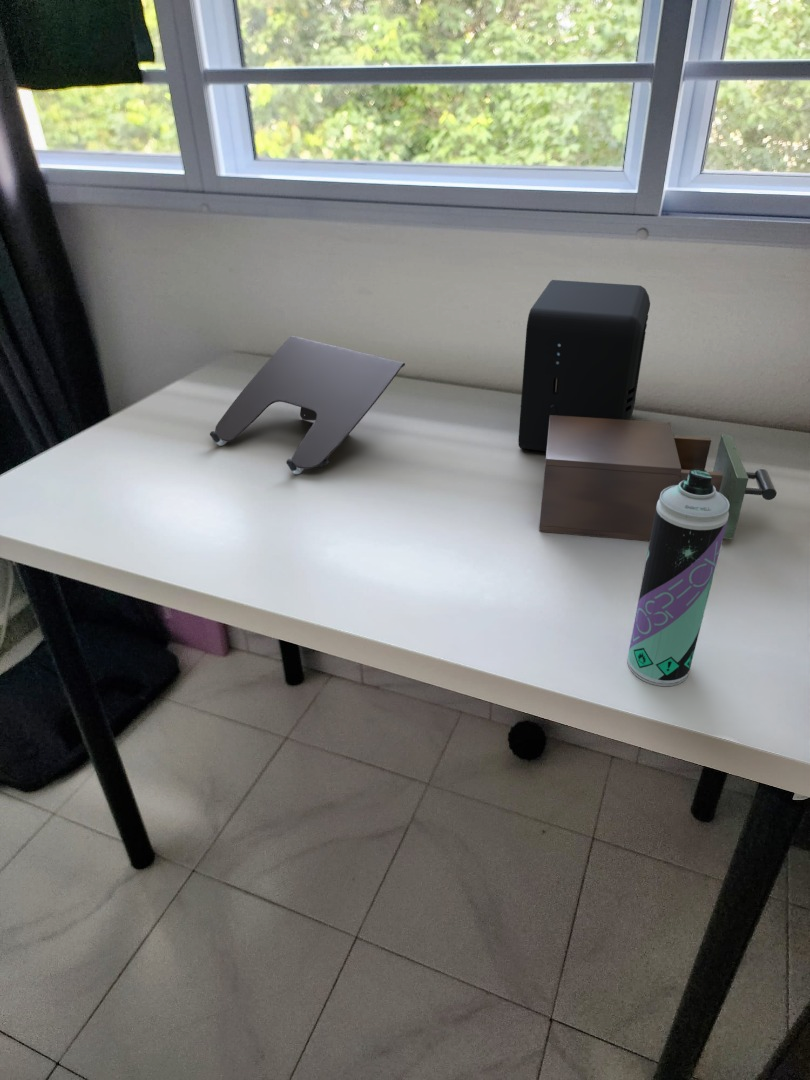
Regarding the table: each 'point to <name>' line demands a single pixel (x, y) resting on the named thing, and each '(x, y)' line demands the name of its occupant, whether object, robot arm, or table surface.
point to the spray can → (677, 579)
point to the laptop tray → (312, 395)
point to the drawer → (723, 473)
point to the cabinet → (606, 476)
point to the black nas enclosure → (581, 355)
